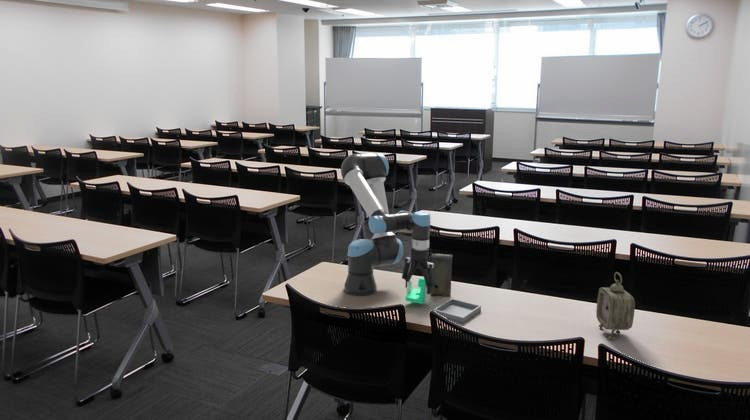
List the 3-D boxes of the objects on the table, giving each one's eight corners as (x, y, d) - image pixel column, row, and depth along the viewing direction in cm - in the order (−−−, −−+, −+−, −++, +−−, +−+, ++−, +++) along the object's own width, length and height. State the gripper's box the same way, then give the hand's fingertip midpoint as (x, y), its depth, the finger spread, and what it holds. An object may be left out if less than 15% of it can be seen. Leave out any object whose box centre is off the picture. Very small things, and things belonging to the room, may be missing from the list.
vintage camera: (450, 287, 271) (451, 246, 267) (451, 297, 256) (452, 254, 252) (430, 286, 272) (430, 246, 268) (430, 296, 256) (430, 254, 253)
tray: (432, 315, 235) (433, 309, 235) (451, 303, 248) (451, 298, 248) (463, 323, 227) (463, 317, 227) (480, 311, 240) (481, 305, 240)
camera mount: (414, 293, 253) (415, 271, 251) (430, 296, 250) (431, 274, 248) (404, 302, 243) (405, 280, 240) (421, 306, 240) (422, 283, 237)
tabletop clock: (594, 326, 227) (600, 266, 222) (617, 326, 227) (623, 267, 222) (607, 341, 213) (614, 278, 208) (632, 342, 213) (639, 279, 207)
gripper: (394, 245, 244) (392, 294, 249) (437, 255, 232) (434, 306, 237) (404, 241, 250) (402, 289, 255) (446, 250, 238) (443, 301, 243)
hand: (417, 297), depth 246 cm, fingers closed on camera mount, 8 cm apart
